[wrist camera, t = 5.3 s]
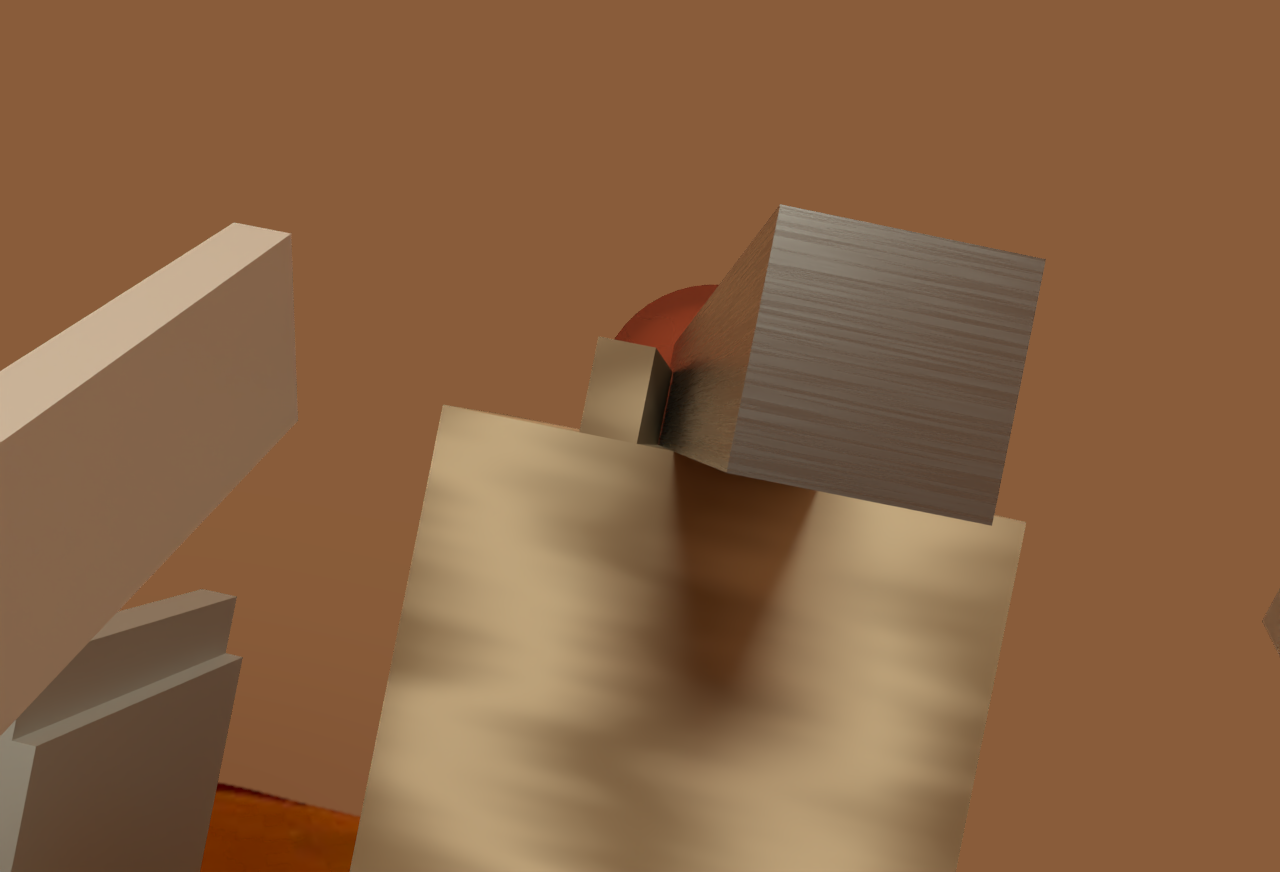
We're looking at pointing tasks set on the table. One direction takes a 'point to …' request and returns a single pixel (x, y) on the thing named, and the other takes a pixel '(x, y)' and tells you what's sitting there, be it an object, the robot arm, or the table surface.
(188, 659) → the tall grey block
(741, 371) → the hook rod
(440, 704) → the beige patterned tall block
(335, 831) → the table surface
